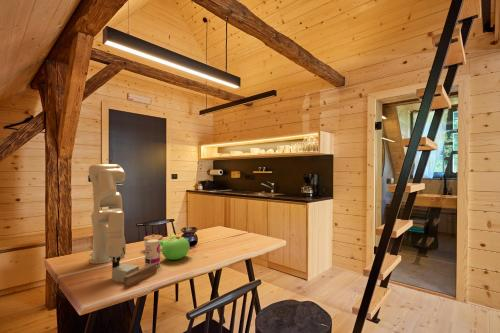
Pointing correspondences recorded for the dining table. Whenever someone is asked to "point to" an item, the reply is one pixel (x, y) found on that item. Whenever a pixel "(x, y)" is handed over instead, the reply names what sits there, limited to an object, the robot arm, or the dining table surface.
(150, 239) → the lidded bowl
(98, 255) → the robot arm
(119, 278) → the brick
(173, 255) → the green round body
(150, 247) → the supplement can
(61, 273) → the dining table surface
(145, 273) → the fence
